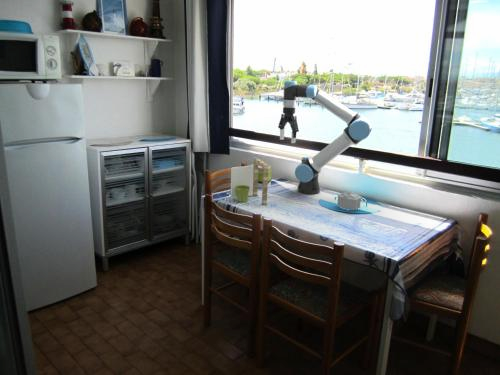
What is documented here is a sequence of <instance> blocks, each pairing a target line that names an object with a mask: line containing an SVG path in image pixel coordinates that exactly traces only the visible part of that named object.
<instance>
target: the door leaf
mask: <svg viewBox="0 0 500 375" xmlns="http://www.w3.org/2000/svg"><path fill="white" fill-rule="evenodd" d="M253 171H254V166H249V165H244V166H243V165H242V166H233V167H231V168H230V198H231V199H235V198H236V199H237V195H236V190H235V186H239V185H245V186H249V187H250V189H249V193H248V197H251V196H253ZM253 197H254V196H253Z"/></svg>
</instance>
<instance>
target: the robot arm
mask: <svg viewBox="0 0 500 375" xmlns="http://www.w3.org/2000/svg"><path fill="white" fill-rule="evenodd" d="M283 85H284V87H283V101H282V102H283V103H282V105H283V107H282V113H281V115H280V116H281V117H280V120H279V123H278V127H277V128H278V129H279V140H281V141H283V140H284V139H285V129H286V128H285V127H286V125H287V123H288V124H289V126H290V128H291V139H290V140H291V142H290V144H296V142H297V133H299V132H300V130H299V129H300V128H299V126H298V120H297V115H294V114H296V105H297V103H296V102H297V101H296V100H297V98H305V99H311V100H313V101H314V102H316V103H317V104H319V105H320V106H321V107H323V108H324V109H326V110H327V111H328V112H330V113H331V114H333V115H334V116H336V117H337V118H339V120H342V121H343V122H345V123H346V126H347V127H345V128H344V129H343V133H341V134H340V135H339V136H338V137H337V138H335V139H334V140H333V141H332V142H330V143H328V145H326V146H325V147H324V148H323V149H322V150H320V151H319V152H317V153H316V154H315V155H314V156H313V157H312V156H303V157H302V158H301V162H300V163H299V164H298V165H297V166H296V168H295V171H294V175H295V178H296V179H297V180H298V181H299V182H298V185H297V189H296V190H297V192H298V193H301V194H306V195H316V194H319V193H321V188H320V183H319V174H320V173H321V172H322V168H324V167H325V166H326V165H328V164H329V163H330V162H331V161H333V160H334V159H335V158H337V157H338V156H339V155H341V154H342V153H343V152H345V151H346V150H347V149H349V147H351V146H355V145H356V146H357V145H358V144H359V143H360V142H362V141H363V140H365V139H367V138H368V137H369V136H370V134H371V132H372V129H373V125H372V122H371V120H370V119H369V118H367V117H365V116H363V115H361V114H360V113H358V112H353V111H352V110H351V109H349V108H348V107H346V106H345V105H343V104H342V103H340V102H339V101H337V100H336V99H334V98H333V97H332V96H331V95H329V94H327V93H326V92H325V91H323V90H322V89H320V88H319V87H317V85H315V84H312V83H311V84H298V83H297V81H296V80H285V81H284V84H283Z"/></svg>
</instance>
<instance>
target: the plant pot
mask: <svg viewBox="0 0 500 375" xmlns="http://www.w3.org/2000/svg"><path fill="white" fill-rule="evenodd" d="M249 189H250V187H249V186H245V185H239V186H235V190H236V195H237V198H236V201H237V202H238V203H246V202H248V198H249V196H248V193H249Z"/></svg>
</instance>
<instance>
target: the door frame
mask: <svg viewBox="0 0 500 375" xmlns="http://www.w3.org/2000/svg"><path fill="white" fill-rule="evenodd" d="M253 164H254V171H253V197H258V191H259V190H258V189H259V188H258V165H259V166H261V167H262V168H263V183H262V190H261V205H262V206H267V205H268V189H269V188H268V166H269V164H268V163H266V162H265V161H263V160H262V159H260V158H258V157H253ZM267 188H268V189H267Z"/></svg>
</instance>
